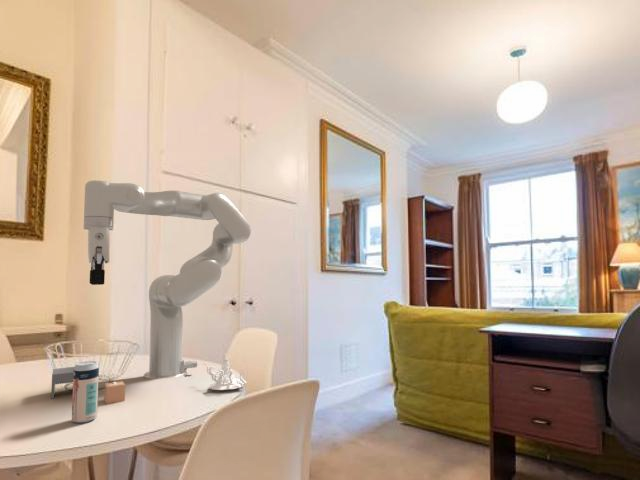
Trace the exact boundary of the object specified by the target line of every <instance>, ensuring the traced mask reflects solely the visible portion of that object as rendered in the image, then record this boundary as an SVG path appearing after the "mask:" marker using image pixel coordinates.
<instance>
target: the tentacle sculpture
mask: <svg viewBox="0 0 640 480" xmlns="http://www.w3.org/2000/svg"><path fill="white" fill-rule="evenodd" d="M223 356H224V357H223V358H222V364H221V368H220V369H218V372H216V373H214V372H213V371H212V369H216V366H212V365H211V366H209V365H208V364H207V363H206V362H203V364H204V365H205V366H206V372H207V374H208V375H210V377H211V380H212V381H213V382H211V384H210V385H209V389H210V390H215V391H224V390H226V391H228V390H235V389H239V388H242V387H245V386H247V381H246V380H245V379H243V378H242V373H243V370H241V371H240V373H239V376H238V377H239V378H236V377H235V374H234V373H233V370H232V367H233V366H232V365H231V366H230V363H229V361H228V360H229V359H228V358H227V354H226V352H225V351H224V355H223Z"/></svg>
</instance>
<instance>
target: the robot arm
mask: <svg viewBox="0 0 640 480" xmlns="http://www.w3.org/2000/svg"><path fill="white" fill-rule="evenodd" d="M83 206H84V207H83V208H84V210H83V229H84V230H87V231H88V232H87V239H88V240H87V252H88V253H87V255H88V263H89V264H90V270H89V284H91V285H92V286H94V285H95V286H97V285H105V274H106V273H105V271H106V270H105V264H108V263H110V246H111V245H110V242H111V241H110V239H111V238H110V231H114V220H115V219H114V215H115V213H114V212H115V211H117V212H120V213H127V214H135V215H143V216H145V215H146V216H149V215H150V216H161V217H177V218H184V219H193V220H201V221H211V220H216V221H217V222H218V223H217V224H216V226H214V228H213V231H212V239H211V240H212V241H211V244H210V246H208V247H207V248H205V250H203V251H202V252H200V253H198V254H197V255H195V256H193V257H192V258H190V259H188V260H187V261H185V262H184V263H183V264H182V266H181V267H180V268H179V273H178V274H177V275H175V274H173V275H172V274H165V275H160V276H158V277H156V278H155V279H154V280H153V281H152V282H151V284H150V286H149V290H148V300H149V308H150V309H149V310H150V331H149V361H148V362H149V365H148V366H149V369H148V371H147V372H145V373H144V374H143V378H144V377H145V378H147V379H169V378H175V377H179V376H183V377H186V376H187V374H188V373H187V369H193V368H194V369H195V368H197V367H198V362H197V360H196V361H191V360H189V361H185V360H183V359H182V358H183V322H184V320H183V319H184V318H183V311H182V310H183V309H182V307H185V306H187V305H189V304H191V303H192V302H194V301H195V300H196V299H199V297H201V296H202V295H203V294H205V293H207V292H208V291H209V290H211V289H212V288H213V287H214V286H215V285H217V283H218V282H219V281H220V279H221V276H222V269H223V268H224V267H225V266H227V265H228V264H229V262H230V261H231V258H232V255H233V245H235V244H236V245H237V244H241V243H244V242H246V241H248V240H249V238H250V236H251V232H252V230H251V225H250V224H249V222H248V220H247V219H246V218H245V216H243V214H242V213H241V212H240V211H239V209H238V208H237V207H236V206H235V205H234V203H232V201H231V200H230V199H229V198H228V197H227V196H226V195H224V194H222V193H219V192H214V193H209V194H206V195H205V194H199V193H192V192H186V191H181V190H180V191H179V190H164V191H163V190H162V191H145V190H144V189H143V188H142V187H141V186H139V185H138V184H135V183H132V182H131V183H130V182H125V183H124V182H120V183H119V182H110V181H105V180H97V179H96V180H88V182H86V183H85V186H84V204H83Z"/></svg>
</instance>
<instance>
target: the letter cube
mask: <svg viewBox="0 0 640 480" xmlns="http://www.w3.org/2000/svg"><path fill="white" fill-rule="evenodd" d="M125 400H126V383H125V382H124V380H120V381H113V382H106V383H104V401H105V403H106V404H107V405H108V404H109V405H110V404H114V403H120V402H126V401H125Z"/></svg>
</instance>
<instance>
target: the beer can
mask: <svg viewBox="0 0 640 480" xmlns="http://www.w3.org/2000/svg"><path fill="white" fill-rule="evenodd" d="M74 367H75V368H74V374H73V382H72V401H71V402H72V403H71V421H72V422H74V423H76V424H86V423H88V422H89V423H90V422H92V421H94V419H96V418H97V417H98V407H99V405H98V402H99V399H98V398H99V375H100V372H99V371H100V370H99V369H100V366H99V365H98V362H97V361H89V360H88V361H81V362H78V363H76V364H75V365H74Z"/></svg>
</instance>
